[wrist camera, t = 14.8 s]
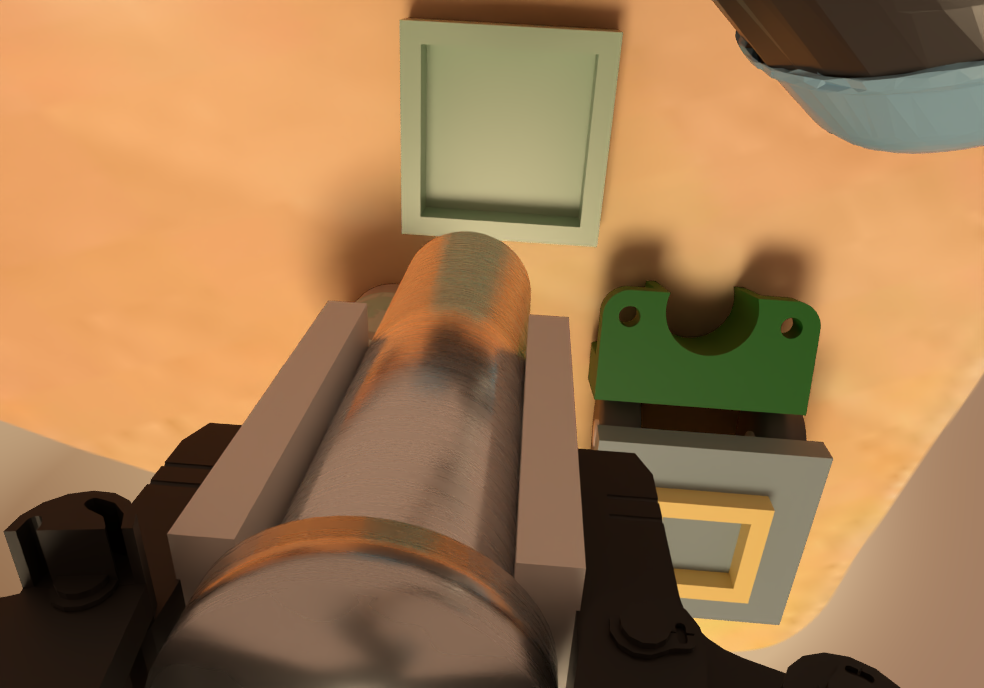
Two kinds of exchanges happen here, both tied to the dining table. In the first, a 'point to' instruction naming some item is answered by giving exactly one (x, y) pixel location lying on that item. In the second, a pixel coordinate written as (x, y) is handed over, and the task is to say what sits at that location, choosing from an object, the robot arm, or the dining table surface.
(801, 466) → the toy cart
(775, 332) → the clamp
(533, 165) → the tray
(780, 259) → the dining table surface
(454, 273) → the pin
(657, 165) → the dining table surface
